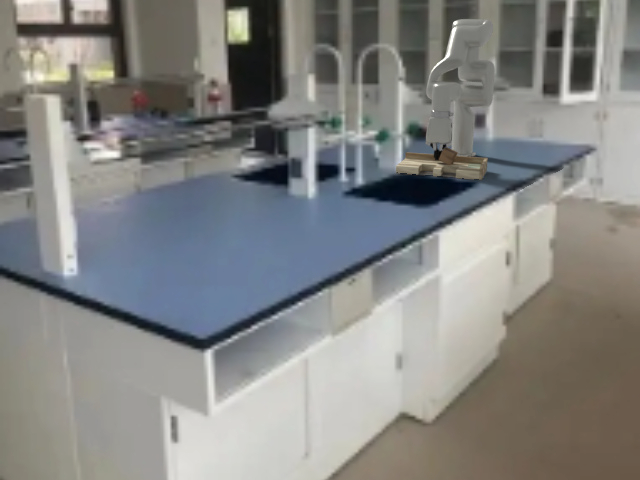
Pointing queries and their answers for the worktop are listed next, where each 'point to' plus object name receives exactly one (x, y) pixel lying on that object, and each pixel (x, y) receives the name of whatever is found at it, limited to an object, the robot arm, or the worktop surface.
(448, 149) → the walnut block
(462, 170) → the board
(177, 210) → the worktop surface
